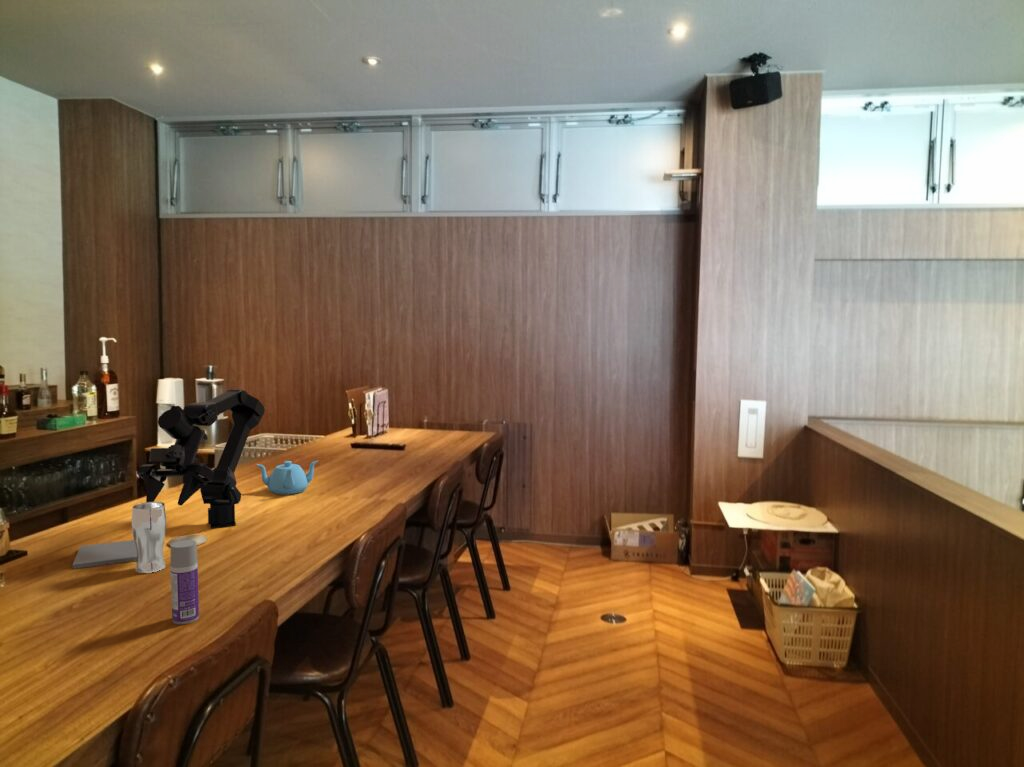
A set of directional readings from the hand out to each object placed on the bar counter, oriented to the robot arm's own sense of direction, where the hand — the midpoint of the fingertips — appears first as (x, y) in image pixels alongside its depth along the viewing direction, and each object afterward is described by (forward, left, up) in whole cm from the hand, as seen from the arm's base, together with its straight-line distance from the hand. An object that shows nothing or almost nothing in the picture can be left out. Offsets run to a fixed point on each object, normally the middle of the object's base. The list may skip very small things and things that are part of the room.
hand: (163, 505), depth 163 cm
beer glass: (+3, +9, -13) cm, 16 cm away
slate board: (+12, -5, -12) cm, 18 cm away
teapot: (-36, -51, -13) cm, 64 cm away
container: (-4, +41, -13) cm, 43 cm away
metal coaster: (-5, -8, -12) cm, 16 cm away
